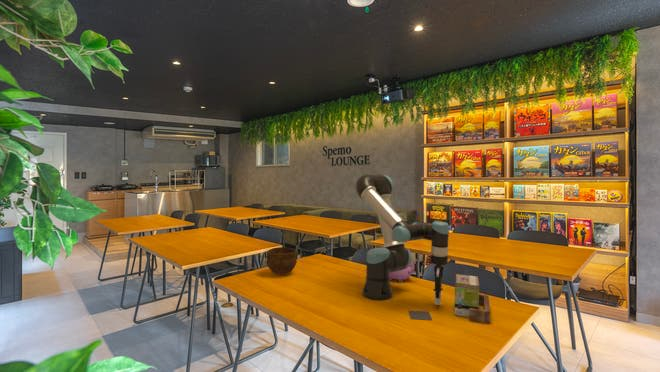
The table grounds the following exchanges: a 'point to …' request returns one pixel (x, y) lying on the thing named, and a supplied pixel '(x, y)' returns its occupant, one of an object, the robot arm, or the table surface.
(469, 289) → the tea box
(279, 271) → the bowl
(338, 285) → the table surface
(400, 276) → the teapot
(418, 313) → the rubber coaster
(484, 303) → the display bay
